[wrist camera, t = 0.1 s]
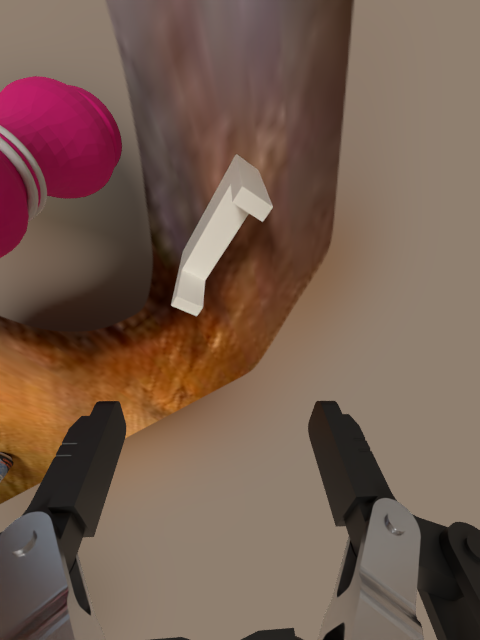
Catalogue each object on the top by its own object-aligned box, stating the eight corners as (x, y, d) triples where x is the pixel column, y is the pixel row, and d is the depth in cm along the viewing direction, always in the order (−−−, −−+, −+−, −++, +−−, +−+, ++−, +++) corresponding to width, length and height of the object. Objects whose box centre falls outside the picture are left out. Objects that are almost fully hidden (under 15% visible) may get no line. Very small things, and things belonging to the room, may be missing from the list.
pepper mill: (73, 189, 26) (-131, 343, 11) (12, 93, 21) (-503, 133, 6) (143, 168, 25) (26, 305, 10) (96, 62, 20) (-264, 23, 5)
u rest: (236, 153, 24) (242, 186, 17) (258, 170, 25) (273, 207, 18) (182, 251, 30) (170, 305, 23) (202, 261, 31) (196, 316, 24)
